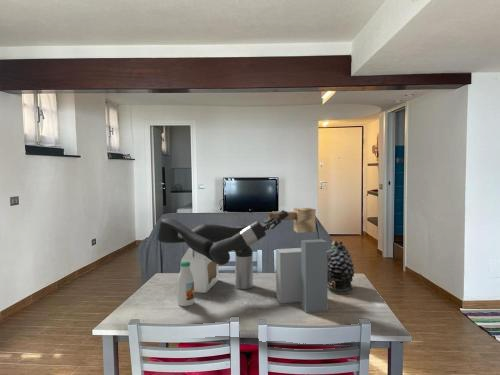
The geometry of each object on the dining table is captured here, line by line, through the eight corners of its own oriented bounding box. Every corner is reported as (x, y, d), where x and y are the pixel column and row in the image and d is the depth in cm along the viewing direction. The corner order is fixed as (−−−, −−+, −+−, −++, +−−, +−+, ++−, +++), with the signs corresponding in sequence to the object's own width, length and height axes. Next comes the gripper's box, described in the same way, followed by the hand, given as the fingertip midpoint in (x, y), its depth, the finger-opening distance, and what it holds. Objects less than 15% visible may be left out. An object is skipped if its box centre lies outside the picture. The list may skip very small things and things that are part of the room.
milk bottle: (180, 307, 159) (179, 265, 158) (175, 302, 166) (174, 261, 165) (196, 304, 163) (195, 262, 162) (191, 299, 170) (190, 259, 169)
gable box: (205, 293, 178) (204, 239, 177) (181, 291, 181) (180, 238, 180) (218, 279, 200) (217, 231, 199) (197, 278, 203) (196, 231, 202)
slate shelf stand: (288, 314, 151) (287, 243, 149) (276, 297, 171) (275, 235, 170) (327, 311, 154) (327, 241, 152) (311, 294, 174) (310, 233, 173)
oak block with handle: (270, 233, 147) (270, 210, 147) (267, 231, 153) (267, 208, 153) (315, 232, 151) (315, 209, 151) (310, 229, 157) (310, 207, 156)
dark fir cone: (319, 283, 192) (318, 238, 191) (345, 282, 193) (345, 237, 192) (331, 296, 171) (331, 246, 170) (360, 295, 172) (360, 245, 171)
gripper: (251, 228, 142) (286, 206, 144) (245, 223, 156) (277, 203, 158) (260, 244, 143) (295, 222, 145) (253, 237, 157) (285, 217, 159)
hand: (285, 212), depth 151 cm, fingers closed on oak block with handle, 3 cm apart
